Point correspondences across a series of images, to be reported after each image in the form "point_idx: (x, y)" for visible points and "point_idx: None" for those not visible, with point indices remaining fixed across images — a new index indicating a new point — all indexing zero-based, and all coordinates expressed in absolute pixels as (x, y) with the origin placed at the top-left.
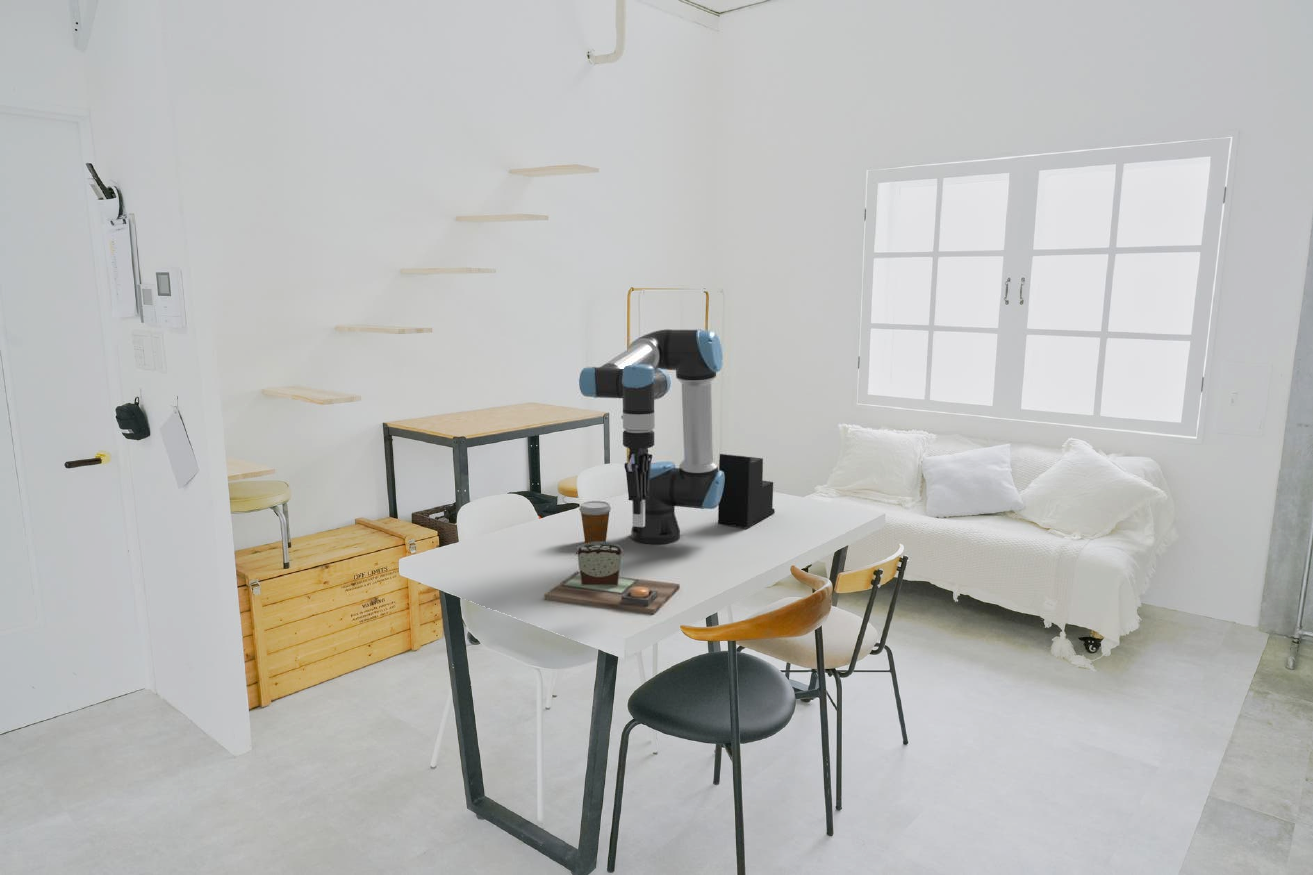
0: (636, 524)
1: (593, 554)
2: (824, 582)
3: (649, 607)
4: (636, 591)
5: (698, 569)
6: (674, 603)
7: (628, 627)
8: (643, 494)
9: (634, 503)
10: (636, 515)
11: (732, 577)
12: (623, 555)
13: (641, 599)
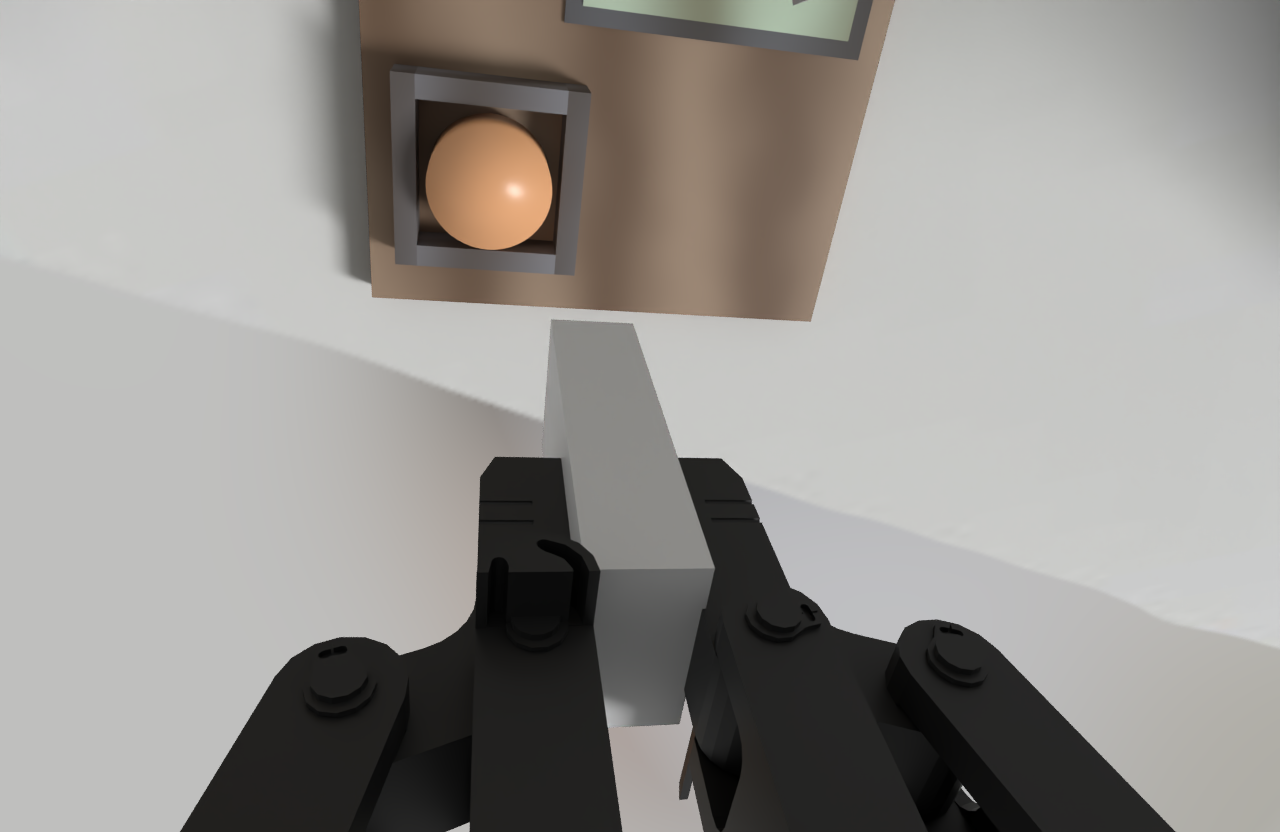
0: (550, 383)
1: None
2: None
3: (388, 262)
4: (451, 177)
5: (1103, 328)
6: None
7: (101, 199)
8: (702, 794)
9: (474, 606)
10: (558, 454)
11: (975, 492)
12: (794, 2)
13: (395, 221)
